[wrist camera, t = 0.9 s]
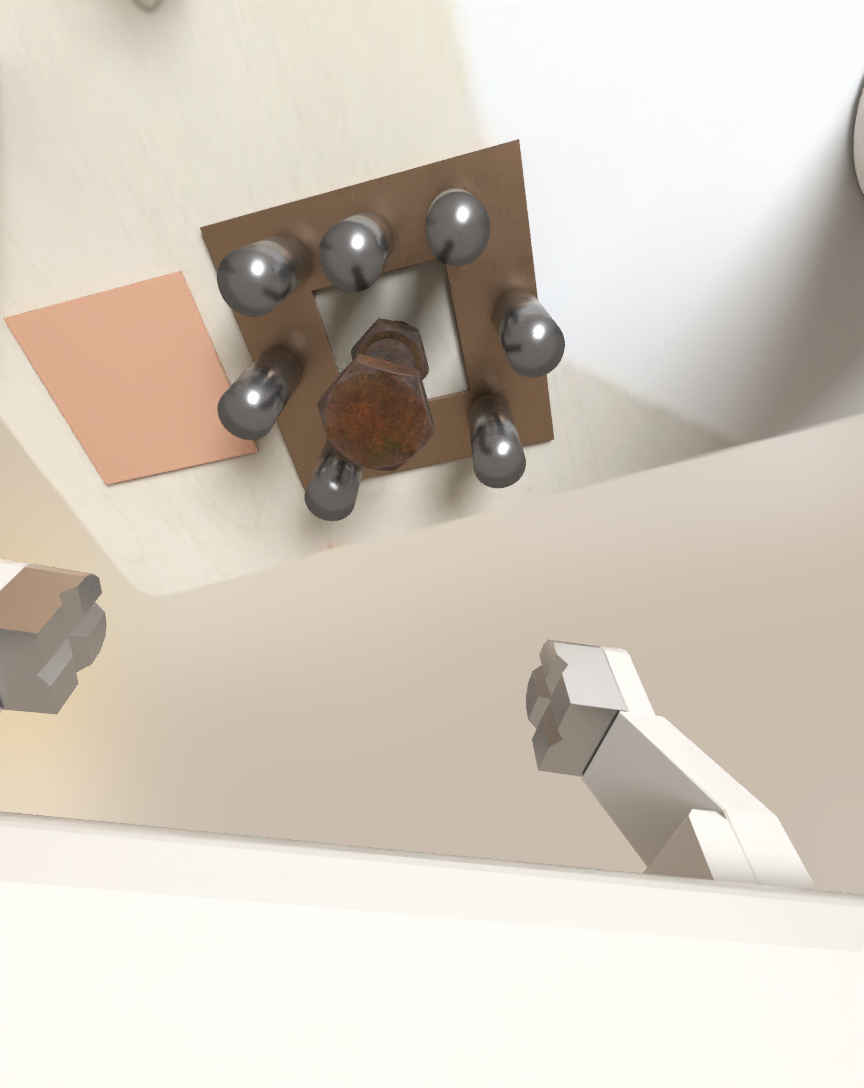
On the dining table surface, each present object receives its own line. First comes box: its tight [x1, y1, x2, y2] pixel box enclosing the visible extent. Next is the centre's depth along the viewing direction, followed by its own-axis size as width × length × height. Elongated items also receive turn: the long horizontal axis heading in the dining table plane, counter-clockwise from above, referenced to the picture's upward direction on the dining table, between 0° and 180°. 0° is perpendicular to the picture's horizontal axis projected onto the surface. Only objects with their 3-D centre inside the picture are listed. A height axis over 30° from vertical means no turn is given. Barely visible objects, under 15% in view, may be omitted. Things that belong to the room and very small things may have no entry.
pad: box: [4, 271, 258, 485], centre depth 41 cm, size 13×13×1 cm
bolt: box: [317, 318, 435, 471], centre depth 33 cm, size 6×5×15 cm
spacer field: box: [200, 139, 565, 521], centre depth 36 cm, size 20×19×9 cm
